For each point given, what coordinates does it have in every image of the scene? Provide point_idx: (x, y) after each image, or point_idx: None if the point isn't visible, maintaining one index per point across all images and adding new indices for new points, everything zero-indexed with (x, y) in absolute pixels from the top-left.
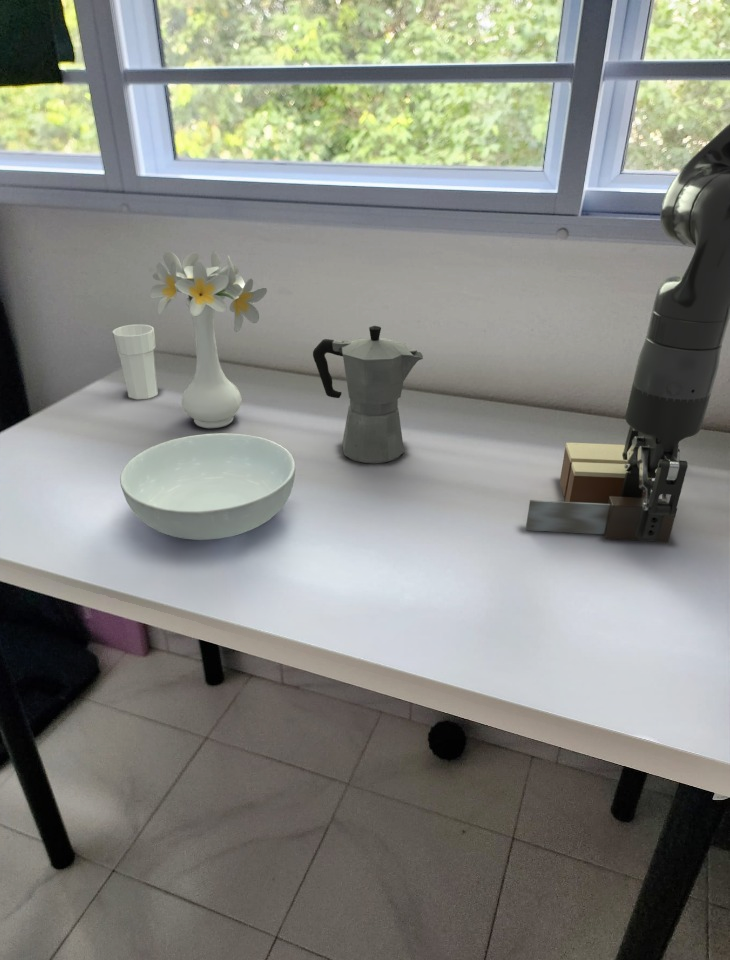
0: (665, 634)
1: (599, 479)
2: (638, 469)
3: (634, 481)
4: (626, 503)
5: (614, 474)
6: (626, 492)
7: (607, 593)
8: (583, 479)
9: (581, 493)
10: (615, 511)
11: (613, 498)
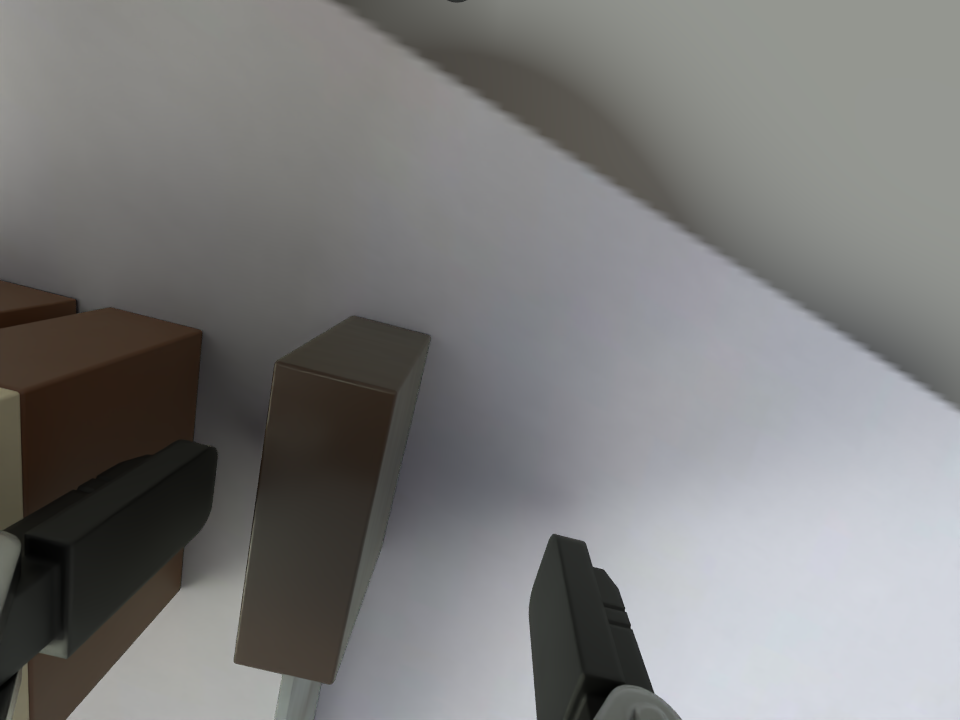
0: (932, 600)
1: None
2: (10, 638)
3: (109, 573)
4: (314, 621)
5: None
6: (169, 547)
7: (690, 661)
8: (50, 703)
9: (119, 629)
10: (347, 641)
11: (258, 656)
